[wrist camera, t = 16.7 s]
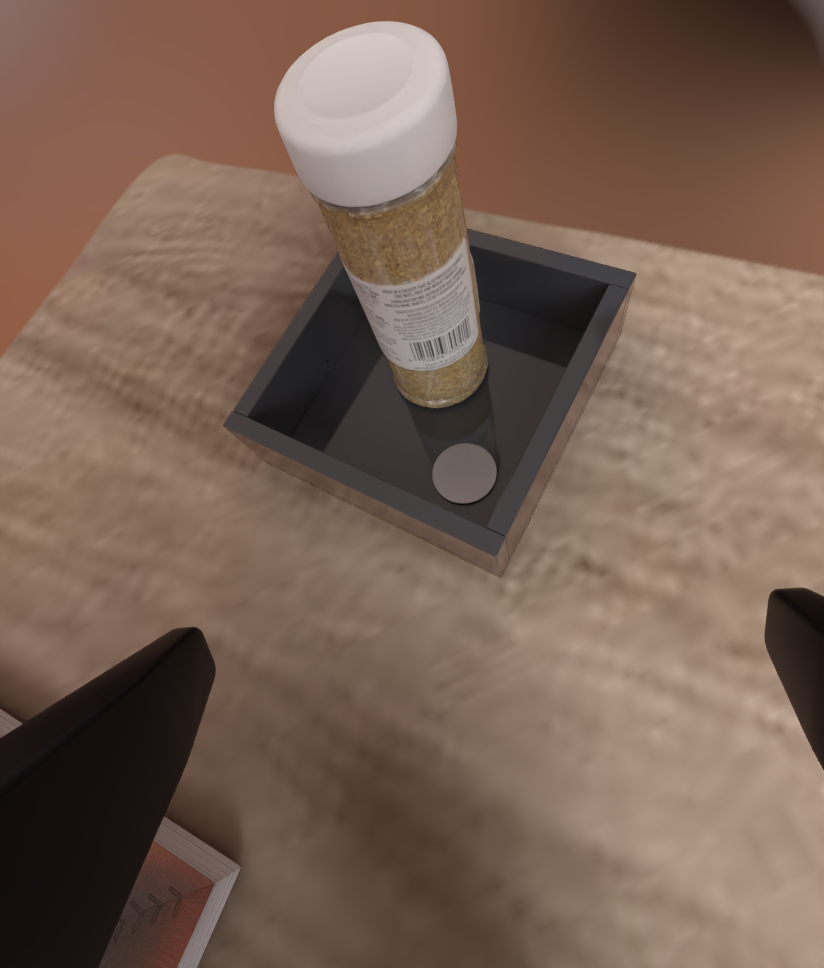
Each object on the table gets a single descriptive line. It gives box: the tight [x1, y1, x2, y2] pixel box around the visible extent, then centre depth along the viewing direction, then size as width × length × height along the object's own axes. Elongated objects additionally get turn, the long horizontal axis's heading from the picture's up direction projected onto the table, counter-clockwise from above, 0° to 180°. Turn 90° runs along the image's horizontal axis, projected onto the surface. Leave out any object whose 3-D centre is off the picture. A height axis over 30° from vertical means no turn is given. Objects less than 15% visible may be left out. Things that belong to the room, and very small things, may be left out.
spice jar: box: [274, 21, 488, 408], centre depth 19 cm, size 5×5×13 cm
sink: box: [223, 229, 636, 578], centre depth 24 cm, size 13×13×4 cm
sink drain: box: [432, 443, 497, 505], centre depth 23 cm, size 3×3×1 cm
